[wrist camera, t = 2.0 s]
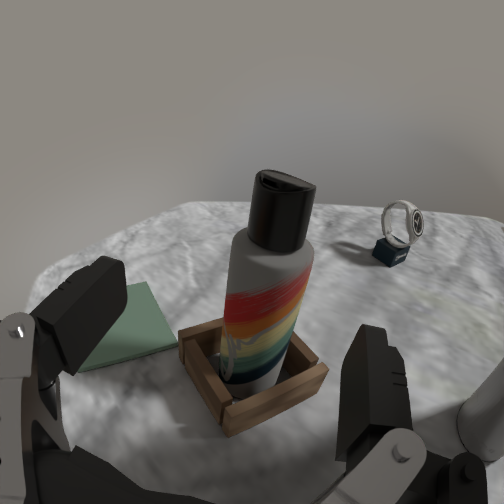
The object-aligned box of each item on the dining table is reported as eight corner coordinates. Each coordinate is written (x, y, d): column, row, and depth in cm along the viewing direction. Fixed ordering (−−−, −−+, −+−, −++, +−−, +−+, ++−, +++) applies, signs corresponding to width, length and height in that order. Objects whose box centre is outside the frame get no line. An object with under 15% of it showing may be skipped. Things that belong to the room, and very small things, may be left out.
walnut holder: (261, 329, 35) (267, 303, 33) (316, 393, 28) (329, 369, 26) (179, 357, 30) (177, 330, 28) (227, 437, 23) (231, 417, 21)
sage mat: (146, 285, 39) (146, 281, 38) (177, 345, 31) (177, 342, 31) (65, 303, 33) (64, 299, 33) (78, 372, 26) (76, 369, 25)
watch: (398, 273, 49) (421, 215, 44) (364, 250, 55) (382, 194, 49) (412, 266, 52) (434, 212, 47) (380, 244, 58) (398, 192, 52)
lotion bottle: (205, 373, 29) (221, 165, 18) (247, 347, 32) (281, 157, 22) (246, 412, 26) (296, 198, 15) (287, 379, 29) (349, 184, 19)
